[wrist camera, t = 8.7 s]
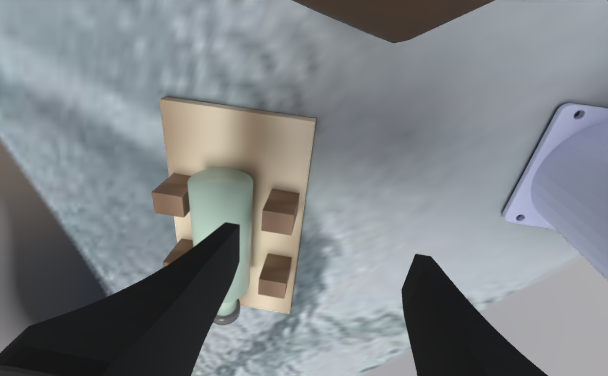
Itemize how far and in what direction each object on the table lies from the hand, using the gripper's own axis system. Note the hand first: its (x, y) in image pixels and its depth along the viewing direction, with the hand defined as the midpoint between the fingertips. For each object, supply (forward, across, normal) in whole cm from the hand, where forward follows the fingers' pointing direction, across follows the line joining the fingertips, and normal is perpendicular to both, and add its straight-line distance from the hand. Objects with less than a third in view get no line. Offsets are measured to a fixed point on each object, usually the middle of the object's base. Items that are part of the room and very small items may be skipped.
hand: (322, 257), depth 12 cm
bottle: (+9, +7, +7) cm, 13 cm away
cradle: (+9, +6, +6) cm, 13 cm away
